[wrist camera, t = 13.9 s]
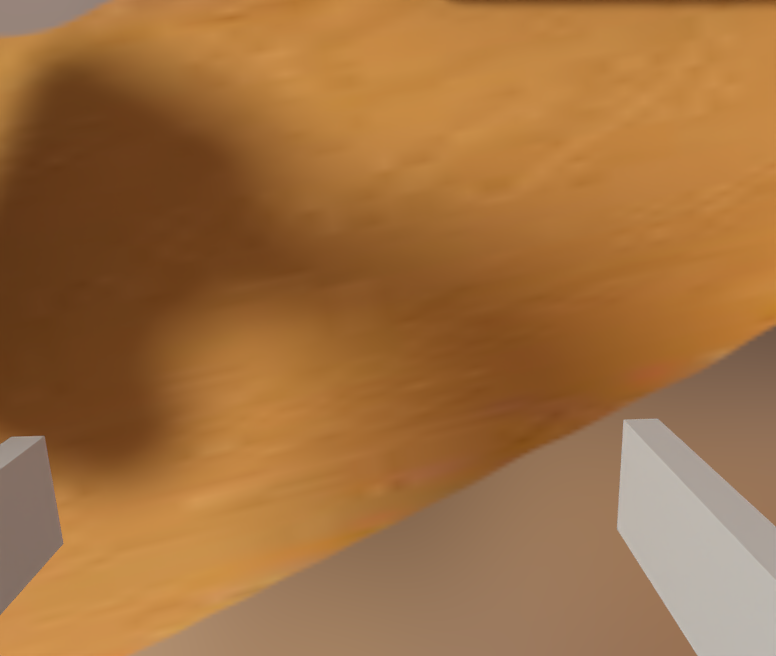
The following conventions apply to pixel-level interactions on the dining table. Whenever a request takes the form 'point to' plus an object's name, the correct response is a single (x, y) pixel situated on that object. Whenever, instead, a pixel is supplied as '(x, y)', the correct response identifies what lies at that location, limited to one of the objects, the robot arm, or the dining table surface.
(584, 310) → the dining table surface
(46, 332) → the dining table surface
